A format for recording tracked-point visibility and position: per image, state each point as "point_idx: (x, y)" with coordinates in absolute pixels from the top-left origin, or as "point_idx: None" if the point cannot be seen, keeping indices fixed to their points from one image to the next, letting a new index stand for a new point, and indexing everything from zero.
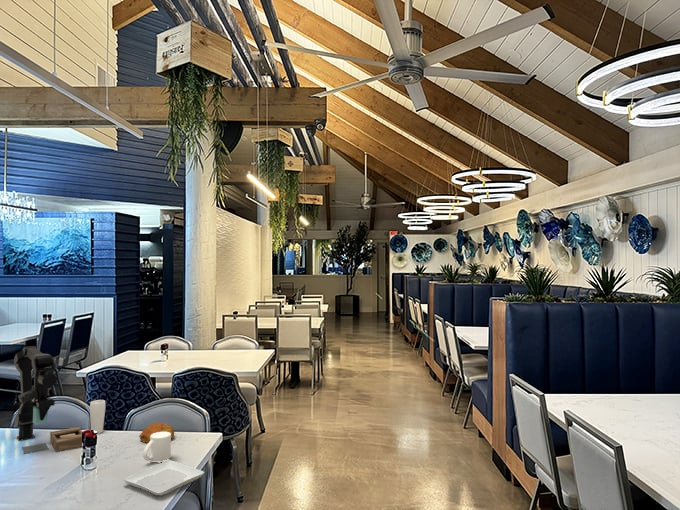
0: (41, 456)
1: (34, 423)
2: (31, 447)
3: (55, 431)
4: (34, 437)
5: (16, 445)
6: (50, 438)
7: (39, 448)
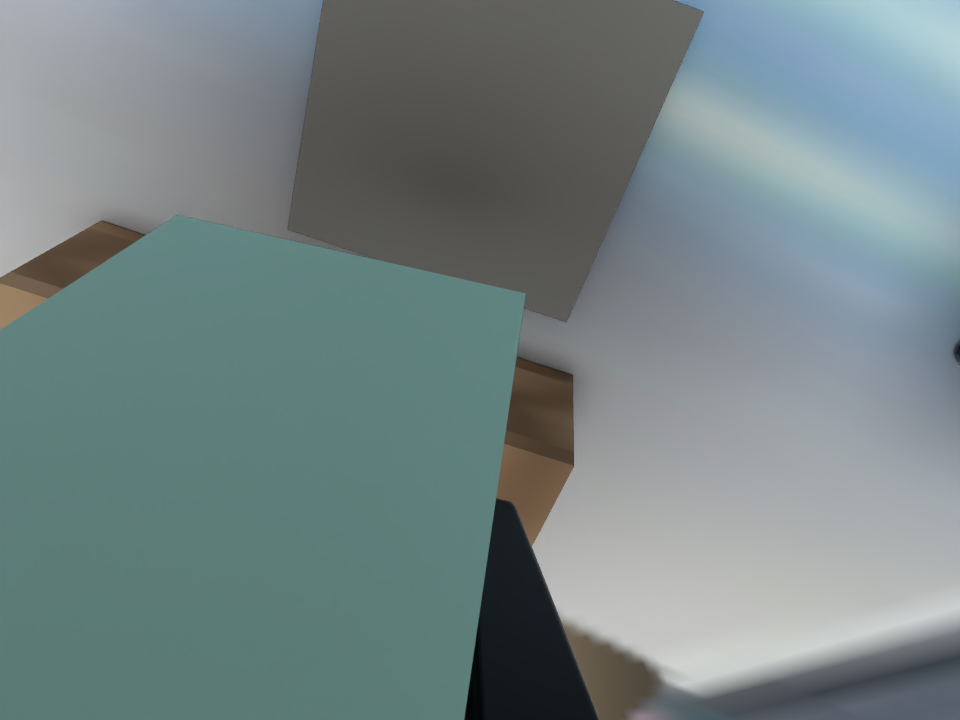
0: (48, 13)
1: (309, 253)
2: (534, 103)
3: (529, 506)
4: (957, 360)
5: (931, 16)
6: (555, 400)
7: (383, 153)
